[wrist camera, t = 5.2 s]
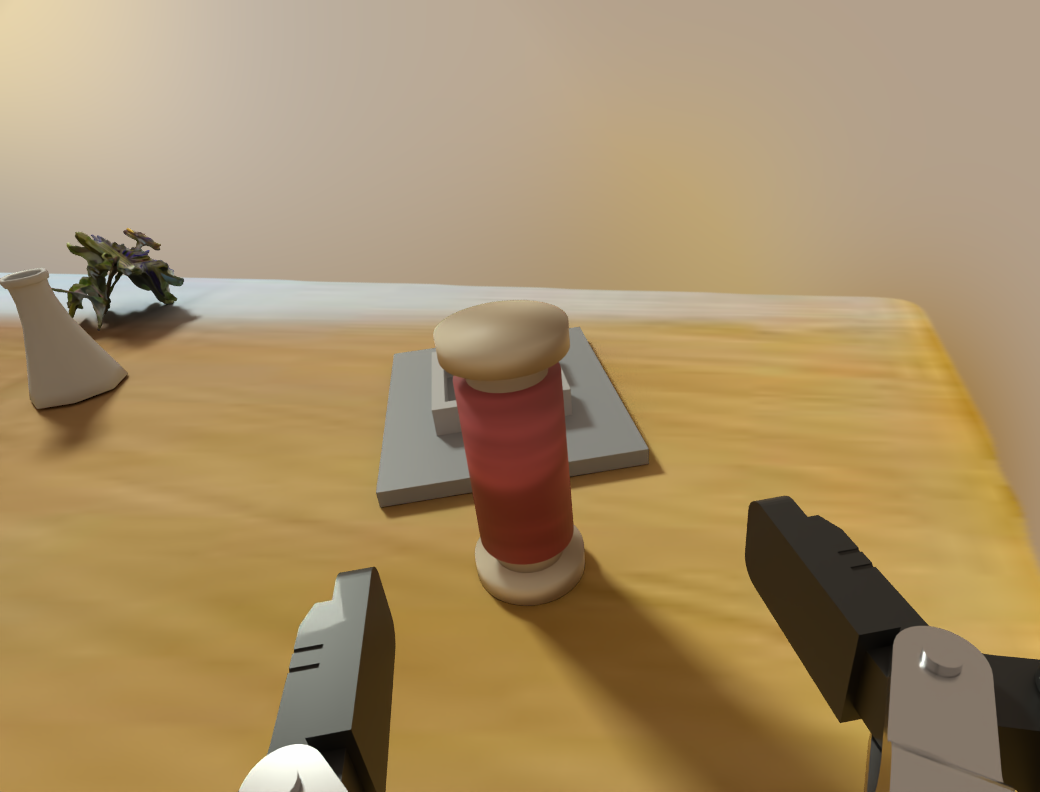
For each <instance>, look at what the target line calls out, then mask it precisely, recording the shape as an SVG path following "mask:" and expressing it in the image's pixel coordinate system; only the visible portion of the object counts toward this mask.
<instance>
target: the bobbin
mask: <svg viewBox="0 0 1040 792" xmlns="http://www.w3.org/2000/svg"><path fill="white" fill-rule="evenodd" d="M433 336H434V342H435V347H436V353H437V358H438V362H439V365H440V366H441V367H442V369H444V370H445V371H446V372H448V373H450V374H452V375H454V376H453V386H454V391H455V397H456V403H457V408H458V414H459V419H460V425H461V431H462V436H463V442H464V447H465V453H466V459H467V464H468V470H469V476H470V481H471V487H472V492H473V498H474V504H475V509H476V515H477V520H478V526H479V532H480V538H479V540H478V542H477V544H476V548H475V560H476V565H477V570H478V576H479V579H480V581H481V583H482V585H483V587H484V588H485V589H486V590H487V591H488V592H489V593H490V594H491V595H492V596H494V597H495V598H497V599H499V600H501V601H504V602H507V603H510V604H514V605H526V606H530V605H539V604H544V603H548V602H551V601H553V600H556V599H558V598H560V597H562V596H564V595H565V594H566V593H568V592H569V591H570V590H572V589H573V588H574V587H575V586H576V584H577V583H578V582H579V580H580V579H581V577H582V575H583V572H584V568H585V554H584V542H583V538H582V535H581V533H580V531H579V530H578V529H577V527H576V526H575V525H574V524H573V513H572V500H571V487H570V475H569V462H568V449H567V437H566V424H565V411H564V399H563V386H562V373H561V365H560V363H559V361H560V360H562V359H563V358H564V357H565V356H566V354H567V353H568V351H569V348H570V338H569V323H568V316H567V315H566V313H565V312H564V311H563V310H562V309H560V308H558V307H556V306H554V305H551V304H548V303H544V302H538V301H529V300H508V301H497V302H491V303H485V304H481V305H477V306H473V307H469V308H466V309H464V310H461V311H458V312H456V313H454V314H452V315H450V316H448V317H447V318H445V319H444V320H442V321H441V322H440V323H439V324H438V325H437V326H436V328H435V330H434V333H433Z"/></svg>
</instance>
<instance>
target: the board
mask: <svg viewBox="0 0 1040 792" xmlns="http://www.w3.org/2000/svg"><path fill="white" fill-rule="evenodd" d="M569 338H570V348H569V351H568V353H567V354H566V356H565V357H564V358H563V359H562V360H560V361H559V363H560V365H561V373H562V386H563V399H564V411H565V424H566V437H567V449H568V462H569V475H570V476H576V475H582V474H589V473H595V472H601V471H607V470H613V469H619V468H625V467H632V466H638V465H644V464H649V449H648V447H647V445H646V443H645V442H644V440H643V438H642V436H641V435H640V433H639V431H638V429H637V427H636V426H635V424H634V422H633V420H632V419H631V417H630V415H629V413H628V412H627V410H626V408H625V406H624V405H623V403H622V401H621V399H620V397H619V396H618V394H617V392H616V390H615V389H614V387H613V385H612V383H611V382H610V380H609V378H608V376H607V375H606V373H605V371H604V369H603V367H602V366H601V364H600V362H599V360H598V359H597V357H596V355H595V353H594V352H593V350H592V348H591V346H590V345H589V343H588V341H587V339H586V337H585V336H584V334H583V332H582V330H581V329H580V327H575V328H569ZM453 376H454V375H452V374H450V373H448V372H446V371H445V370H444V369H442V367H441V366H440V365H439V362H438V358H437V353H436V348H432V349H425V350H418V351H412V352H405V353H398V354H394V359H393V367H392V375H391V382H390V390H389V398H388V405H387V413H386V421H385V429H384V436H383V444H382V452H381V459H380V467H379V475H378V482H377V490H376V494H377V498H378V501H379V505H380V507H385V506H392V505H398V504H404V503H410V502H416V501H422V500H428V499H435V498H441V497H447V496H453V495H459V494H465V493H472V487H471V481H470V476H469V470H468V464H467V459H466V453H465V447H464V442H463V436H462V431H461V425H460V419H459V414H458V408H457V403H456V397H455V391H454V386H453Z"/></svg>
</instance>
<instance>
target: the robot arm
mask: <svg viewBox="0 0 1040 792" xmlns="http://www.w3.org/2000/svg"><path fill="white" fill-rule="evenodd" d="M745 561H746V567H747V571H748V574H749V577H750V579H751V581H752V583H753V585H754V587H755V588H756V590H757V591H758V593H759V595H760V596H761V598H762V599H763V601H764V603H765V604H766V606H767V607H768V609H769V611H770V612H771V614H772V615H773V617H774V619H775V620H776V622H777V623H778V625H779V627H780V628H781V630H782V631H783V633H784V634H785V636H786V638H787V639H788V641H789V642H790V644H791V646H792V647H793V649H794V650H795V652H796V654H797V655H798V657H799V658H800V660H801V662H802V663H803V665H804V666H805V668H806V670H807V671H808V673H809V674H810V676H811V678H812V679H813V681H814V682H815V684H816V685H817V687H818V689H819V690H820V692H821V693H822V695H823V697H824V698H825V700H826V701H827V703H828V705H829V706H830V708H831V709H832V711H833V713H834V714H835V716H836V717H837V719H838V721H839V722H840V723H842V722H848V721H853V720H858V719H862V720H863V722H864V723H865V725H866V726H867V728H868V729H869V731H870V736H869V741H868V750H867V761H866V772H865V783H864V792H1015V790H1017V792H1040V660H1037V659H1027V658H1017V657H1006V656H996V655H988V654H983V653H981V652H980V651H979V650H978V649H977V648H976V647H975V646H974V645H972V644H971V643H970V642H968V641H967V640H965V639H964V638H962V637H960V636H958V635H956V634H954V633H952V632H949V631H947V630H944V629H940V628H936V627H931V626H929V625H928V624H927V623H926V622H925V621H924V620H923V619H922V618H921V617H920V616H919V615H918V613H917V612H916V611H915V610H914V609H913V608H912V607H911V606H910V605H909V603H908V602H907V601H906V600H905V599H904V598H903V597H902V596H901V595H900V593H899V592H898V591H897V590H896V589H895V588H894V587H893V586H892V585H891V583H890V582H889V581H888V580H887V579H886V578H885V577H884V576H883V575H882V573H881V572H880V571H879V570H878V569H877V568H876V567H873V565H872V562H871V561H870V560H869V559H868V558H867V557H866V556H865V555H864V553H863V552H860V551H859V548H858V547H857V546H856V545H855V543H854V542H853V541H852V540H851V539H850V538H849V537H848V536H847V535H846V533H845V532H844V531H843V530H842V529H840V528H839V527H837V526H835V525H834V524H832V523H830V522H829V521H827V520H825V519H824V518H822V517H820V516H819V515H816V516H811V517H807V516H806V515H805V513H804V512H803V511H802V510H801V509H800V507H799V506H798V505H797V504H796V503H795V502H794V500H793V499H792V498H790V497H789V496H781V497H775V498H769V499H764V500H758V501H753V502H751V503H750V505H749V510H748V522H747V535H746V548H745ZM394 660H395V631H394V624H393V619H392V615H391V612H390V609H389V606H388V602H387V599H386V596H385V593H384V589H383V586H382V583H381V580H380V576H379V573H378V571H377V569H376V568H375V567H370V568H365V569H359V570H353V571H348V572H342V573H339V574H338V575H337V578H336V583H335V588H334V593H333V598H332V601H326V602H321V603H315V604H314V606H313V607H312V608H311V610H310V611H309V613H308V614H307V616H306V617H305V619H304V620H303V621H302V623H301V624H300V626H299V630H298V634H297V638H296V642H295V646H294V654H292V658H291V662H290V667H289V673H288V675H287V679H286V683H285V687H284V691H283V695H282V699H281V703H280V707H279V711H278V715H277V719H276V723H275V727H274V731H273V736H272V740H271V744H270V747H269V750H268V753H267V755H266V757H264V758H263V759H262V760H261V761H260V762H259V763H257V764H256V766H255V767H254V768H253V769H252V770H251V771H250V772H249V774H248V775H247V777H246V778H245V780H244V782H243V783H242V785H241V787H240V790H239V791H238V792H385V791H386V776H387V762H388V747H389V733H390V718H391V704H392V689H393V675H394Z"/></svg>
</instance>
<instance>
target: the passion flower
mask: <svg viewBox="0 0 1040 792" xmlns="http://www.w3.org/2000/svg"><path fill="white" fill-rule="evenodd" d="M123 232H124V234H125V235H127V236H128V237H130V238H132V239H134V240H136V241H137V244H136V247H135V248H134V247H132V248H131V249H128V248H126V247H125V246H124V244H121V245H118V244H117V243H116V242H114V243H111V242H110V241H108V240H105V239H104V238H102V237H100V236H97V237H95V236H94V235H91V236H92V237H93V238H94V240H92V239H91V238H90V237H89V236H88V235H86V234H84V233H82V232H78V233H77V232H76V235H75V237H76V239H77V240H78V241H79V242H80V243H81V244H82V245H83V246H84V247H79V246H72V245H70V243H67V247H68V249H69V250H70V252H72V253H73V254H75V255H78V256H81V257H83V258H84V259H86V260H87V262H88V265H89V266H87V271H88V276H89V277H82V278H81V279H80V281H79V284H73V286H72V287H71V288H70V289H69V291H66V290H62V289H55V288H51V289H52V290H53V291H57V292H65V293H67V294H68V302H67V305H68V308H69V315H70V316H71V317H72V318H73V317H74V315H75V311H76V309H77V308H79V309H83V306H82V300H83V298H88V299H89V300H90V301H91V302H92V304H93V308H94V310H95V312H96V315H97V319H98V331H100V328H101V326H102V319H103V316H104V314H106V312H107V311H108V309H109V308H110V303H111V300H110V298H109V296H110V294H111V292H112V291H113V288H114V285H115V284H116V283H117V281H118V280H119V279H120V277H121V276H122V274H124V275H126V276H128V277H129V278H130V280H131V281H132V282H133V283H134V284H135V285H136V286H137V287H139V288H141V289H144V290H147V291H150V290H151V291H152V292H153V293H154V295H155V296H156V298H157V299H158V300H159V301H160V302H163V303H164V304H172V303H173V302H174V301H177V298H176V297H175V296H174V295H173V294H171V293H170V289H169V284H170V285H173V286H181V285H182V284H183V282H184V279H183V278H180V277H176V276H173V275H174V270H172V269H170V268H169V266H168V264H167V263H165V262H163V261H162V260H154V259H151V258H150V257H149V256H148V253H149V250H147V251H145V252H144V251H142V249H141V247H142V246H145V245H147V246H150V247H152V248H153V249H154V250H160V248H159V247H160V246H161V244H158V243H156V242H154V241H153V240H152V239H151V238H149V237H147V236H146V235H145V234H142V233H141V232H134V231H133V230H131V229H129V228H127V229H126V230H124V231H123ZM108 271H110V273H109V277H108V282H107V285H106V279H105V276H107V272H108ZM117 272H118V274H117V275H116V276H115V282H114V283H113V284H112V286H111V281H112V278H113V276H114V275H115V274H116V273H117ZM87 294H88V295H87Z"/></svg>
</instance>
